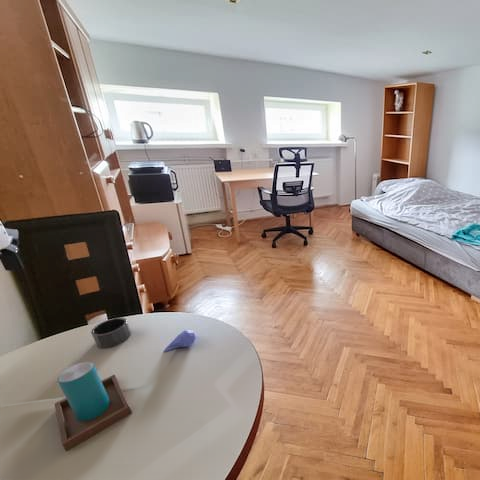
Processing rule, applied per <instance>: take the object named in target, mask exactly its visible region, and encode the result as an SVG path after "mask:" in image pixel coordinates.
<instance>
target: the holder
mask: <svg viewBox="0 0 480 480" xmlns="http://www.w3.org/2000/svg"><path fill="white" fill-rule="evenodd" d="M90 334H91V337H92V339H93V341H94V344H95V346H96V347H97V348H98V349H110V348H114V347H116V346H119V345H120V344H122V343H124V342H126V341H127V340H128V339H130V337H131V335H132V330H131V327H130V325H129V322H128V320H127V318H125V317H114V318H110V319H107V320H105V321H102V322H100V323H98V324H97V325H95V326H94V327H93V328H92V329H91V331H90Z"/></svg>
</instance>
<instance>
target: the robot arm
mask: <svg viewBox="0 0 480 480" xmlns="http://www.w3.org/2000/svg"><path fill="white" fill-rule="evenodd" d="M19 234H20V233H19V230H18V229H14V228H13V229H12V228H6V227H5V226H4V224H3V223H2V221H1V220H0V262H1V264H2V266H3V268H4V270H5V271H21V270H23V269H25V266H24V265H23V263H22V260H21V258H20V256H19V254H18V252H19V251H20V248H19V244H20V240H19Z"/></svg>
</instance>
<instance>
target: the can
mask: <svg viewBox="0 0 480 480" xmlns="http://www.w3.org/2000/svg"><path fill="white" fill-rule="evenodd" d="M56 381H57V383H58V385H59V387H60V389H61V391H62V393H63V395H64V396H65V398H66V399H67V400H68V402H69V404H70V406H71V408H72V410H73V412H74V414H75V416H76V418H77V420H78V421H80V422H86V421H90V420H92V419H95V418H97V417H98V416H100V415H101V414H103V413H104V412H105V411H106V410H107V409H108V408H109V406H110V399H109V397H108V395H107V393H106V390H105V388H104V386H103V384H102V379H101V376H100V375H99V372H98V371H97V368H96V366H95V364H94V363H93V362H92V361H83V362H79V363H76V364H74V365H72V366H69V367H67V368H66V369H64V370H62V372H61V373H60V374H59V375H58V377H57V380H56Z"/></svg>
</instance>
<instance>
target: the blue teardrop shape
mask: <svg viewBox="0 0 480 480" xmlns="http://www.w3.org/2000/svg"><path fill="white" fill-rule="evenodd" d="M196 339H197V336H196V334H195V332H194V331H193V330H192V329H191V330H190V329H188V330H186V329H185V330H183V331H181V332H180V333H179V334H178V335H177V336H175V338H174V339H173V340H172V341H170V343H169V344H168V345H167V346H166V347H165V348H164V349H163V351H162V352H163V353H165V352H168V351H172V350H175V349H177V348H187V347H191V346H192V345H193V344H194V343H195V341H196Z"/></svg>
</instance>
